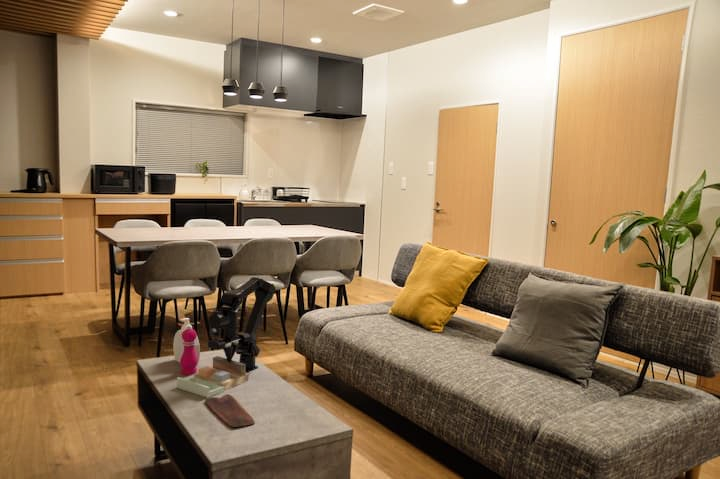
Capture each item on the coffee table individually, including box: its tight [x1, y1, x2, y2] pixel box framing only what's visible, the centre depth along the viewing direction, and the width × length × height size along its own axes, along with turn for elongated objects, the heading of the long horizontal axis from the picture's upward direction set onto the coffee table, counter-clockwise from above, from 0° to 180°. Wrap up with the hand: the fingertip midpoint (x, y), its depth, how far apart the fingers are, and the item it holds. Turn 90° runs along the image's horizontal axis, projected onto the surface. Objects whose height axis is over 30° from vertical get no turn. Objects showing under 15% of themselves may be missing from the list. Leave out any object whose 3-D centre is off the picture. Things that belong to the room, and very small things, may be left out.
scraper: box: [212, 355, 246, 377], centre depth 223 cm, size 2×16×5 cm, turn 58°
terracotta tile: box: [198, 365, 215, 378], centre depth 218 cm, size 4×4×2 cm
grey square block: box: [213, 370, 230, 382], centre depth 214 cm, size 4×4×2 cm
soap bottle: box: [172, 317, 201, 366], centre depth 239 cm, size 16×5×20 cm, turn 43°
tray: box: [176, 376, 225, 399], centre depth 211 cm, size 8×17×4 cm, turn 58°
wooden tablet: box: [204, 394, 256, 428], centre depth 192 cm, size 26×2×10 cm
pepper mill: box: [179, 325, 199, 376], centre depth 228 cm, size 7×7×20 cm
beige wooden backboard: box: [193, 369, 249, 392], centre depth 220 cm, size 14×16×3 cm
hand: (229, 361), depth 223 cm, fingers closed, pressing on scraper
